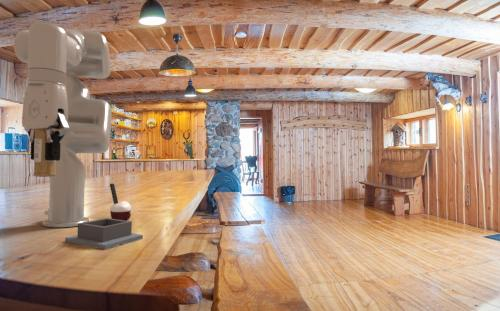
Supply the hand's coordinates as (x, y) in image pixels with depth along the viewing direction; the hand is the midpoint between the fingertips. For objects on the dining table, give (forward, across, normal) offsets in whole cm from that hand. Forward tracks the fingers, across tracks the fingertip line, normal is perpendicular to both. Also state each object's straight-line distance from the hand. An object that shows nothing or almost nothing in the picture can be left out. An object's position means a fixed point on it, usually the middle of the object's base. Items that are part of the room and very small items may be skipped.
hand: (45, 159), depth 77 cm
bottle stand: (+21, +6, +12) cm, 25 cm away
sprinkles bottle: (+4, 0, 0) cm, 4 cm away
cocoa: (+21, -10, +32) cm, 40 cm away
